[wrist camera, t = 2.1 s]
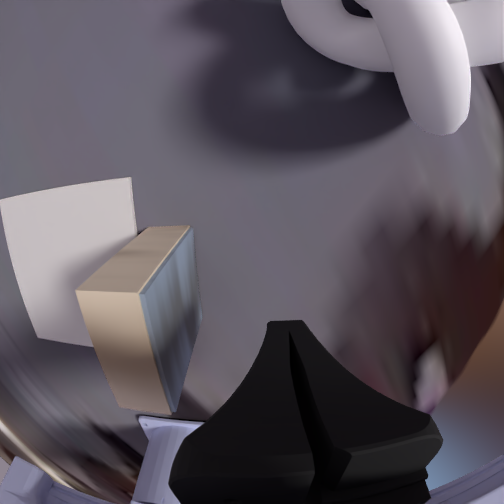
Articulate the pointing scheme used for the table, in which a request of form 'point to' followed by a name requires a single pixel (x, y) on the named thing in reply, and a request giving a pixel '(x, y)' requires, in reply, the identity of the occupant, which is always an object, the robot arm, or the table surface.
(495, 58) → the white torus knot
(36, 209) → the white mat
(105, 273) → the blue tan block
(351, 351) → the table surface
